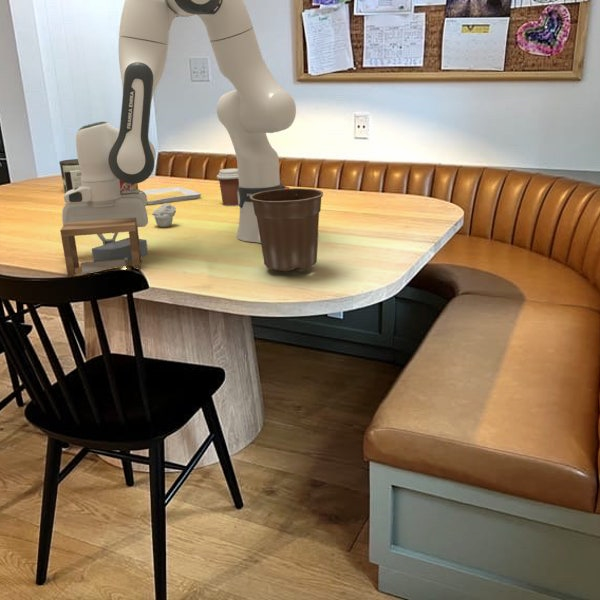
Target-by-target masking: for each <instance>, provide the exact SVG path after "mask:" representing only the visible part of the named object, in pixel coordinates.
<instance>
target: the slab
mask: <svg viewBox="0 0 600 600" xmlns="http://www.w3.org/2000/svg"><path fill="white" fill-rule="evenodd" d="M139 243H140V251H141V257H144V256H147V255H149V251H148V243H147V239H143V238H139ZM91 254H92V255H91V256H92V260H93V261H92V262H96V261H108V260H120V259H124V258H128V262H129V261H132V253H131V245H130V238H129V237H125V238H122V239H119V240H115V242H112V243H109V244H106V245H103V244H102V245H100V246H95V247H93V248H91Z"/></svg>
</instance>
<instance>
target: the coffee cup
mask: <svg viewBox="0 0 600 600" xmlns="http://www.w3.org/2000/svg"><path fill="white" fill-rule="evenodd" d="M216 179H218V183H219V188H220V194H221V200H222V201H221V202H222V205H223V206H225V207H239V205H238V193H237V191H238V186H239V177H238V168H224V169H223V168H222V169H220V170H219V173H218V174H217V175H216Z"/></svg>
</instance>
